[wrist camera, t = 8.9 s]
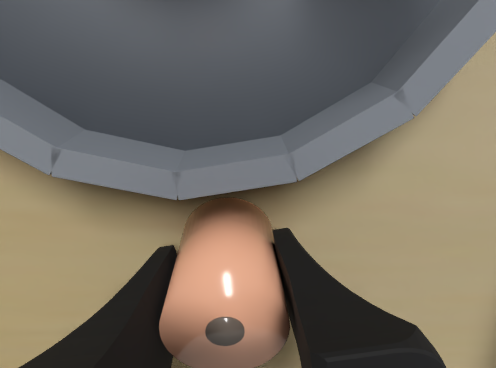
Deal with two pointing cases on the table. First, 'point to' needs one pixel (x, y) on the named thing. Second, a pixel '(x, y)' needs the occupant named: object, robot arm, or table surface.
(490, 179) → the table surface
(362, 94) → the groove tray
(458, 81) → the table surface
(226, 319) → the terracotta bead
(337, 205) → the table surface
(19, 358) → the table surface
